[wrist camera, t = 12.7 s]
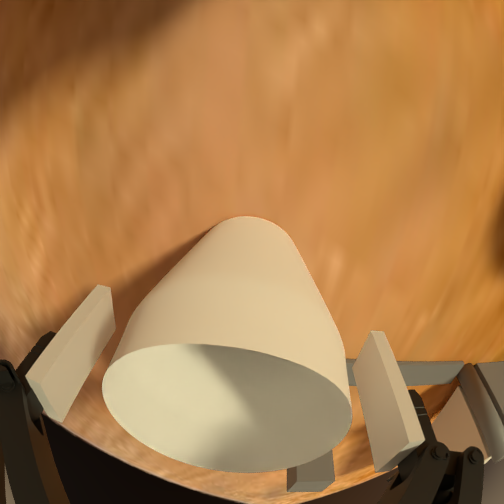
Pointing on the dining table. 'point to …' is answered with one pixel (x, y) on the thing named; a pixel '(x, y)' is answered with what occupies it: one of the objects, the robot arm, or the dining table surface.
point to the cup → (233, 358)
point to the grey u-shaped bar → (427, 373)
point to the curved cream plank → (459, 425)
